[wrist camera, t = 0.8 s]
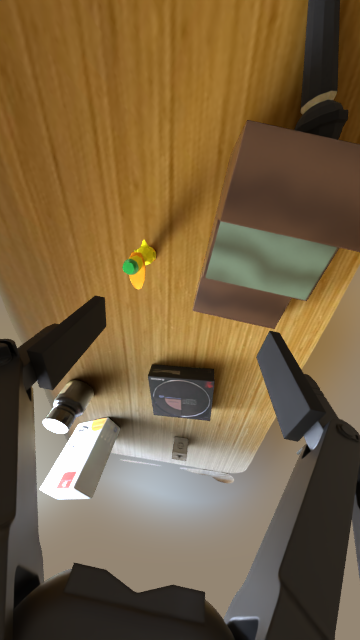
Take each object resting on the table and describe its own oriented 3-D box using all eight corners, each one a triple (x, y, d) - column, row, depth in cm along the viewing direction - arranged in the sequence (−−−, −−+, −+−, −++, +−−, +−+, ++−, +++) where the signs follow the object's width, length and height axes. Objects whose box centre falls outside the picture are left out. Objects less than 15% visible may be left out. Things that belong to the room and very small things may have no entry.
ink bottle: (65, 375, 57) (35, 412, 47) (93, 382, 57) (69, 420, 47) (69, 395, 62) (42, 432, 52) (95, 401, 62) (73, 439, 52)
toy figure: (159, 273, 37) (142, 299, 27) (142, 271, 37) (118, 296, 27) (160, 236, 33) (139, 250, 23) (140, 234, 34) (112, 247, 23)
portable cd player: (157, 404, 59) (154, 416, 56) (151, 364, 50) (147, 376, 47) (209, 409, 57) (209, 422, 54) (214, 369, 48) (214, 381, 45)
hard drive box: (108, 415, 66) (74, 488, 49) (121, 427, 69) (93, 499, 52) (78, 423, 71) (38, 490, 54) (91, 434, 75) (57, 501, 58)
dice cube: (188, 438, 68) (187, 454, 63) (187, 445, 70) (185, 461, 66) (174, 436, 68) (172, 451, 64) (173, 443, 71) (171, 458, 66)
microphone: (291, -56, 20) (289, 172, 27) (293, -140, 15) (290, 162, 23) (361, -115, 17) (337, 156, 25) (389, -236, 12) (349, 142, 20)
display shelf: (231, 152, 26) (247, 119, 16) (342, 176, 26) (427, 158, 16) (193, 301, 39) (189, 335, 29) (268, 318, 39) (290, 358, 29)
